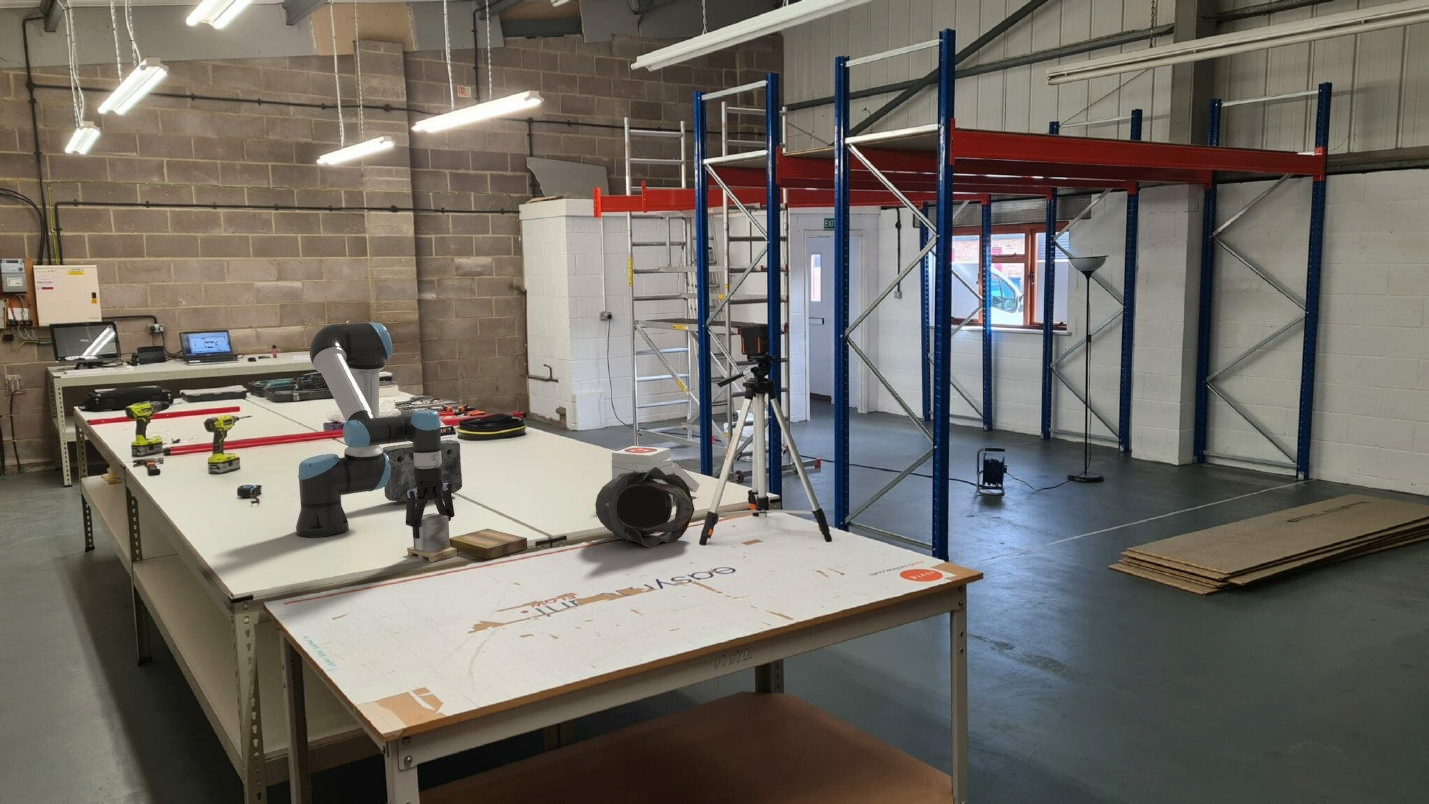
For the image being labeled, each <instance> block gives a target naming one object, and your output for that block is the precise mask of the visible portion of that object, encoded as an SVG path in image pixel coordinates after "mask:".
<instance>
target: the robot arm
mask: <svg viewBox="0 0 1429 804" xmlns="http://www.w3.org/2000/svg"><path fill="white" fill-rule="evenodd" d="M392 343H393V342H392V338H391V335H390V333H389V331H388V329H387V327H386V326H385V325H383V324H382V323H379V322H368V321H367V322H351V323H350V322H349V323H332V324H328V325H325V326H324V327H322V328H321V329H320V330H318V331H317V332H316V334H315V335H314V336H313V338H312V339H311V342H310V346H309V359H310V361H311V364H312V366H313V367H314V370H316V371H317V372H319V373H321V376H322V378H323V379H324V381H325V384H326V385H327V387H328V390H329V391H330V393H331V395H332V397H333V399H334V400H335V403H336V405H337V407H338V409H339V411H340V412H341V415H342V417H343V419H344V421H345V423H344V424H343V427H342V436H343V440H344V441H343V442H344V443H345V445H346V446H347V447H345V448H344V451H343V452H344V454H343V456H342V457H339V455H338V454H336V453H327V454H319V455H314V456H311V457H307V458H305V459H303V460H302V461H301V462H300V463H299V465H298V475H297V478H298V484H299V486H298V487H299V500H300V511H299V513H298V518H297V521H296V526H295V533H296V536H299V537H303V538H319V537H320V538H321V537H322V538H323V537H330V536H335V535H339V534H342V533H345V532H347V531H349V520H348V518H347V516H346V513H345V511H344V509H343V506H342V496H345V495H351V494H352V495H353V494H358V493H359V494H360V493H366V492H372V491H376V490H380V489H383V488H384V486H385V485H386V484H387V482H388V480H389V476H390V464H389V462H390V461H389V458H388V456H387V455H386V454H385V453H383V449H382V448H383V447H381V446H380V445H390V444H398V443H406V442H407V443H408V442H410V443H413V460H414V466H416V467H415V468H414V479H415V482H416V485H415V487H414V489H412V490H406V497H407V502H406V510H405V525H406V526H408V527H411V528H412V539H413V538H415V543H416V549H418V550H424V544H423V527H421V526H420V524H421V520H422V516H423V515H424V511H425V508H426V505H427V504H428V501H431V500H430V499H433V500H432V501H433V503H434V505H435V508H436V509H437V512H438V514H440V515H445V516H448V518H449V522H450V521H451V520H452V518H454V517H455V516H456V515H455V508H454V502H453V496H452V495H453V494H451V488H452V484H450V483H443V482H442V480H441V479H442V467H441V466H440V465H441V463H442V458H441V440H442V438H441V437H442V435H441V432H442V431H441V425H442V424H441V420H440V413H439V411H437V410H436V409H435V410H433V409H432V410H430V409H423V410H421V409H420V410H415V411H413V412H412V413H399V414H398V415H393V416H384V417H380V415H379V414H380V372H381V371H382V370H384V368H385V366H386V365H385V363H386V362H385V361H388V360H390V359H391V358H392V355H393V344H392ZM441 489H442V490H443V497H442V496H441V493H440V491H441ZM416 493H417V494H418V497H417V502H416V496H417V495H416ZM422 499H423V500H422Z"/></svg>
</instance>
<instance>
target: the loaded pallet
mask: <svg viewBox="0 0 1429 804" xmlns="http://www.w3.org/2000/svg"><path fill="white" fill-rule="evenodd" d="M420 526H421V527H423V544H424V550H418V549H416V543H415V538H413V537H412V539H413V540H412V541H413V546H409V547H407V549H406V550H407V551H406V552H407V555H408V556H411V557H412V556H416V555H417V557H418V558H419V559H420V560H422V559H428V561H429V562H431V563H433V562H437V561H441V560H444V559H449V558H452V557H453V558H454V557H456V556H458V555H457V552H458V551H457V549H456V548H452V547H450V540H449V538H450V521H449V518H448V516H445V515H440V514H439V513H437V512H436V513H435V512H431V513H427V514H423V516H422V520H421V524H420Z"/></svg>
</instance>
